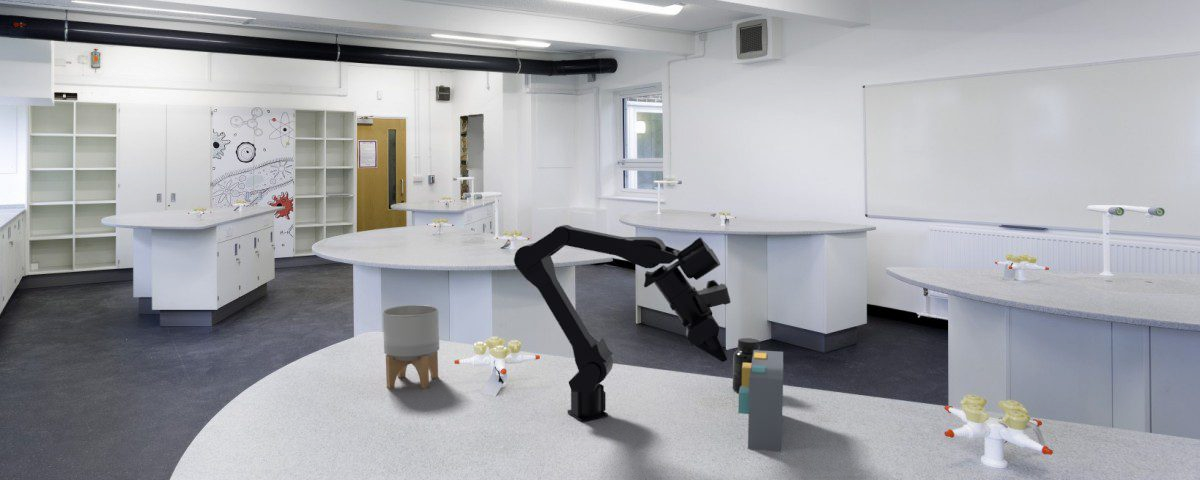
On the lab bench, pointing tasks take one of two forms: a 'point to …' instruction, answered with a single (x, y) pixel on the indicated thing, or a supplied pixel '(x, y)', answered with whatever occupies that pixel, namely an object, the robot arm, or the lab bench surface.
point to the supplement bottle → (742, 359)
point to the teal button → (743, 400)
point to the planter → (411, 342)
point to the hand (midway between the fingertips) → (722, 353)
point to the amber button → (746, 374)
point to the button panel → (765, 401)
